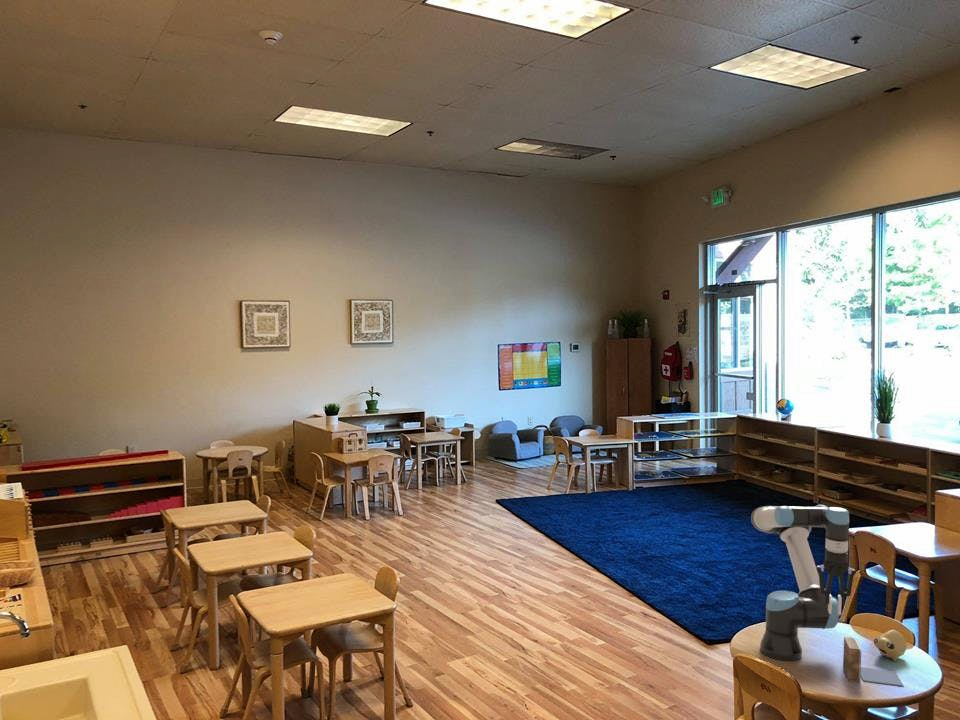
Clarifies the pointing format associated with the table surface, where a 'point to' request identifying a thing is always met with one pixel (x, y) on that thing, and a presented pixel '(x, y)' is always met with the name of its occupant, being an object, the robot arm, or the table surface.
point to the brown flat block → (852, 659)
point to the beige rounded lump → (891, 644)
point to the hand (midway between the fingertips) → (834, 612)
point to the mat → (880, 676)
